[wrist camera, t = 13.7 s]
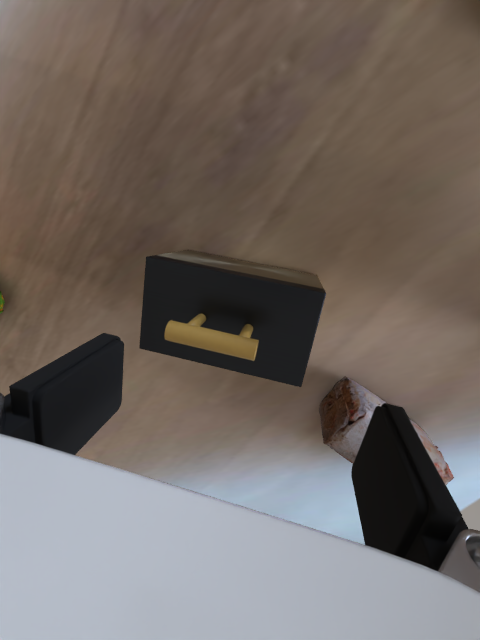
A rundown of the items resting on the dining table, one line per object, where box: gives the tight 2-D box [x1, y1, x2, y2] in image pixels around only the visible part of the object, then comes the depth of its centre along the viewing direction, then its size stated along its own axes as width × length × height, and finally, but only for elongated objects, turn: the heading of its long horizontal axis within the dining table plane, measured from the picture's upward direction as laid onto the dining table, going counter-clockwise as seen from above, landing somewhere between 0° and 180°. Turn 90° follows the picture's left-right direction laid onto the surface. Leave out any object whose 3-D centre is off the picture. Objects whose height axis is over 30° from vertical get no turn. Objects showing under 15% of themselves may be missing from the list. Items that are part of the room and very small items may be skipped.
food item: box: [319, 377, 454, 485], centre depth 35 cm, size 14×8×10 cm, turn 57°
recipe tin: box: [140, 250, 326, 387], centre depth 30 cm, size 16×16×9 cm
